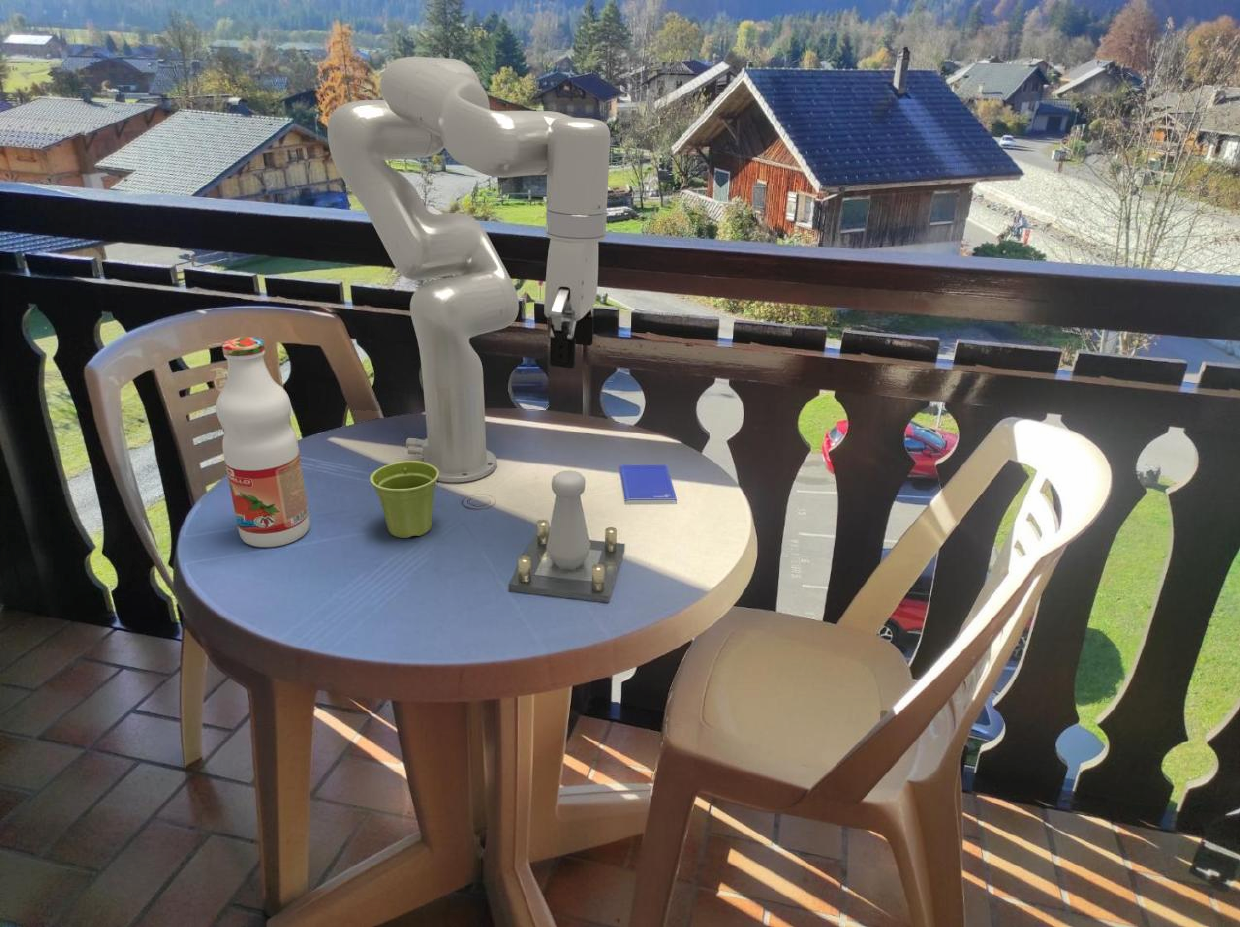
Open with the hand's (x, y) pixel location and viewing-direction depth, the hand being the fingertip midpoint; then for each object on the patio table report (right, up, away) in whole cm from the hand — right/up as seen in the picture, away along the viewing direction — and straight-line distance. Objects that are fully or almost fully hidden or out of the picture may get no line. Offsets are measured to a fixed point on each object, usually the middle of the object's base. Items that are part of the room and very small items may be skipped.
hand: (571, 354), depth 109 cm
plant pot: (-24, -24, +8) cm, 35 cm away
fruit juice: (-43, -25, +6) cm, 50 cm away
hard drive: (+11, -19, +23) cm, 32 cm away
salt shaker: (0, -28, -1) cm, 28 cm away
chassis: (0, -29, 0) cm, 29 cm away
